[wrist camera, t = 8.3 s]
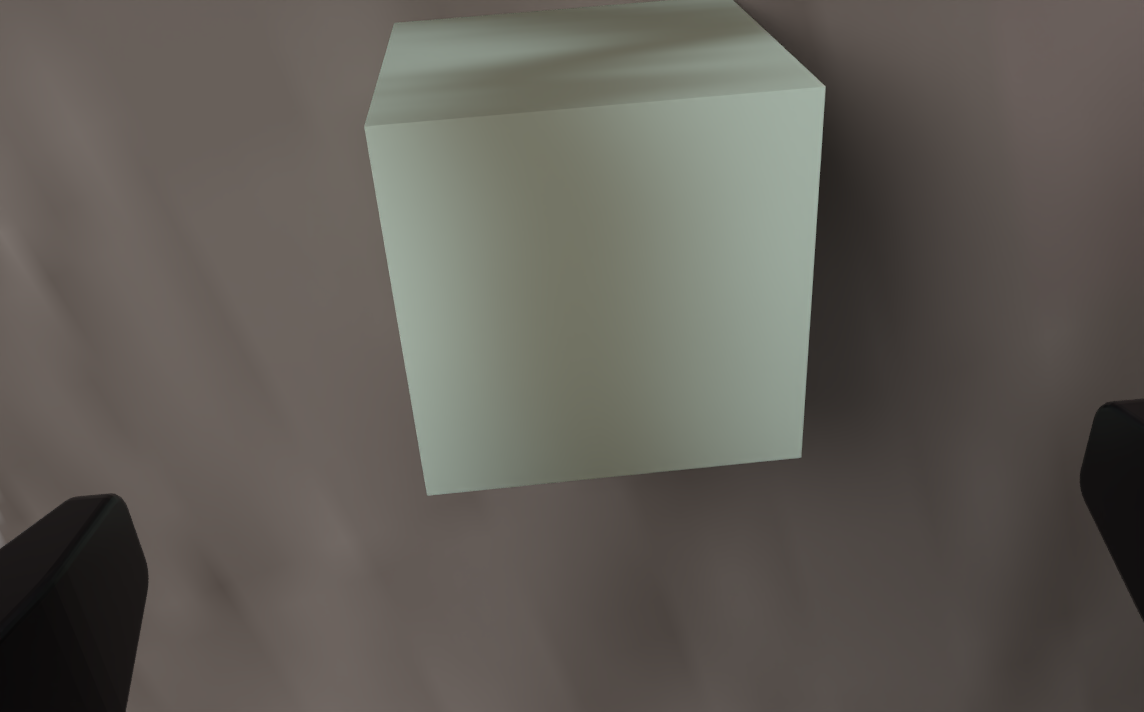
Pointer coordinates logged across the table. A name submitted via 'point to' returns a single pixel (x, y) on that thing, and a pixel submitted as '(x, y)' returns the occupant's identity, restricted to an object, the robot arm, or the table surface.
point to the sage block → (598, 239)
